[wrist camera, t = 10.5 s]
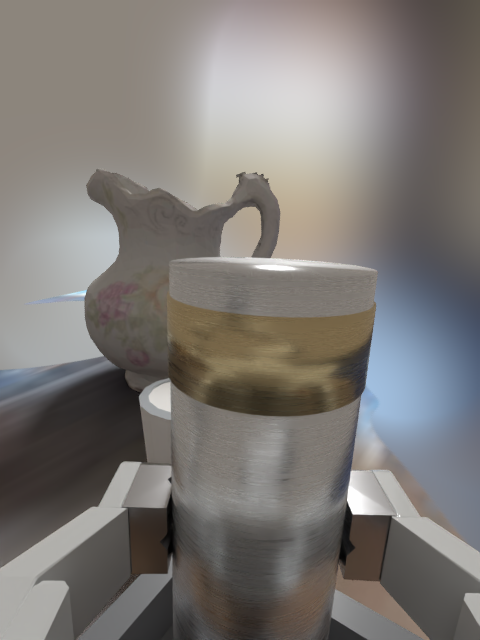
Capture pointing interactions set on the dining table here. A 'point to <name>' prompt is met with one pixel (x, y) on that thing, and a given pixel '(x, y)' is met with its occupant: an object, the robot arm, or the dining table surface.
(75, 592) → the robot arm
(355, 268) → the steel pin
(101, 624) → the tray
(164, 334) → the ceramic pitcher
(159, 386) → the shot glass
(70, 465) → the dining table surface
